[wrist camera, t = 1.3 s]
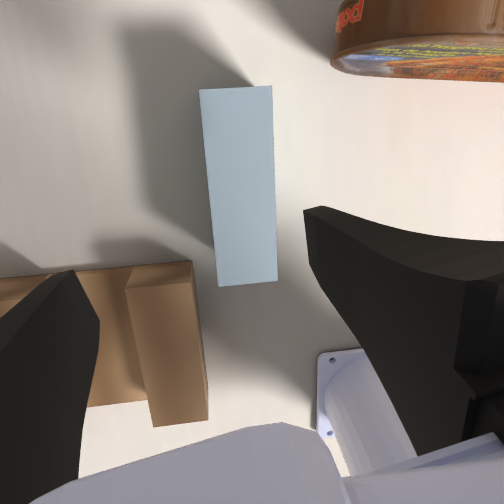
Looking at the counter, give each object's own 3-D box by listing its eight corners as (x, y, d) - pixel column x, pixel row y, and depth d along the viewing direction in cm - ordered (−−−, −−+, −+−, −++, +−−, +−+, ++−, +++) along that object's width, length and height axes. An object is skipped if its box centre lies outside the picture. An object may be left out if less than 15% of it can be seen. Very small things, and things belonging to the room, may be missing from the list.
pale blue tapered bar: (256, 89, 20) (271, 85, 15) (263, 245, 23) (277, 280, 19) (200, 92, 20) (198, 89, 15) (215, 249, 23) (218, 287, 18)
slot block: (192, 260, 23) (190, 282, 20) (208, 387, 27) (208, 420, 24) (-13, 279, 22) (-44, 305, 19) (34, 408, 26) (14, 445, 23)
